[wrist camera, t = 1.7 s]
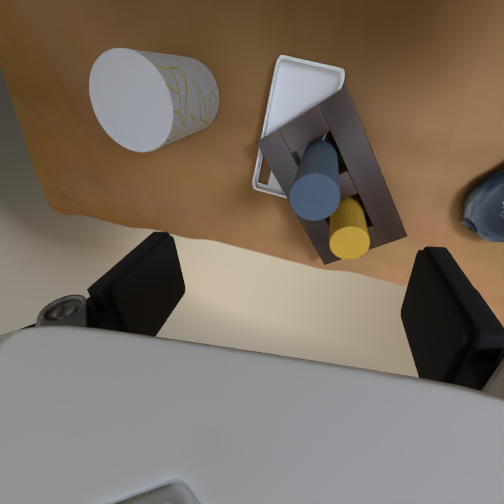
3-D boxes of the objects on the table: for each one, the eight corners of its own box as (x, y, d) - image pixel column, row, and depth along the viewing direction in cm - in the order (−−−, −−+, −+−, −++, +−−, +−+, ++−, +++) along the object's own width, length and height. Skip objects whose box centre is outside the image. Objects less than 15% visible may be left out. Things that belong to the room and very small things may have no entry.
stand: (344, 85, 30) (346, 86, 27) (401, 223, 36) (407, 236, 34) (262, 137, 35) (256, 143, 32) (324, 252, 41) (324, 265, 38)
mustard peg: (354, 187, 35) (361, 220, 27) (366, 213, 37) (376, 252, 29) (324, 200, 37) (323, 235, 29) (337, 224, 39) (338, 264, 30)
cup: (210, 141, 37) (166, 165, 27) (154, 117, 37) (89, 132, 27) (227, 72, 32) (180, 70, 22) (162, 45, 32) (88, 31, 22)
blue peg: (328, 130, 33) (327, 163, 20) (342, 161, 34) (348, 208, 22) (298, 148, 35) (280, 187, 22) (312, 176, 36) (302, 228, 24)
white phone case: (305, 199, 38) (346, 69, 29) (304, 203, 37) (347, 69, 28) (253, 185, 38) (279, 54, 30) (250, 188, 37) (277, 53, 29)
